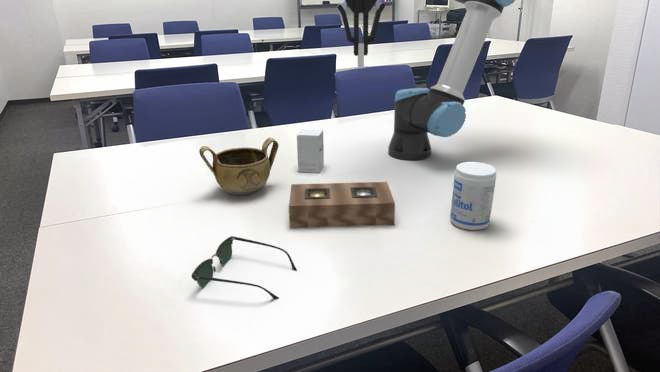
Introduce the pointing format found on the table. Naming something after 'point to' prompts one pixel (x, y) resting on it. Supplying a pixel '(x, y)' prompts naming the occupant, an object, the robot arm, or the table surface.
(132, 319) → the table surface
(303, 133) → the supplement box
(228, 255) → the sunglasses
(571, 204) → the table surface
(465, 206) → the supplement tub
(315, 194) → the brass peg
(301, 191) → the walnut block
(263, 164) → the ceramic bowl
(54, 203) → the table surface
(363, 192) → the steel peg
